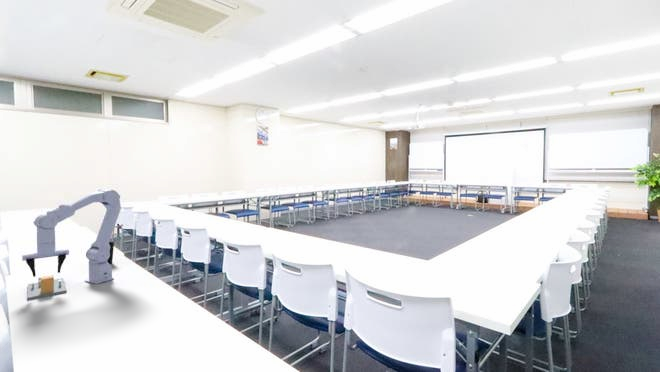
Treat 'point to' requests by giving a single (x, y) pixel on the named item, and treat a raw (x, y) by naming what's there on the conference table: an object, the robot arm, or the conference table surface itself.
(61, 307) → the conference table surface
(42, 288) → the block
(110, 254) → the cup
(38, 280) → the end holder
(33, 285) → the clips
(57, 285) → the board
